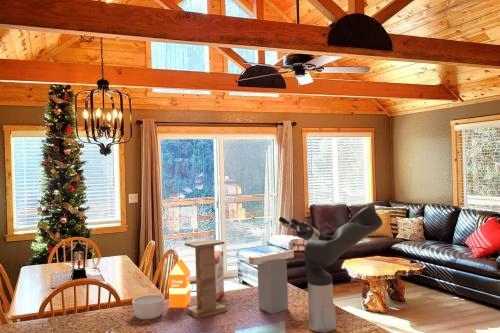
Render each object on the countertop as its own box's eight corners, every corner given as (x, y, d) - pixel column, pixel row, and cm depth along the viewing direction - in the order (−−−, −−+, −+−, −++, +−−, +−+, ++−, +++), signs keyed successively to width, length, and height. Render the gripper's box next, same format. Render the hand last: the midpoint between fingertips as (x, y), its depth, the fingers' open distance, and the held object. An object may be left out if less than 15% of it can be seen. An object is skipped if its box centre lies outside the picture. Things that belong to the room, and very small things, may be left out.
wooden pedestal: (226, 311, 188) (224, 241, 187) (198, 318, 179) (195, 245, 179) (214, 305, 196) (212, 238, 196) (186, 312, 187) (184, 242, 187)
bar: (293, 257, 194) (293, 250, 194) (254, 265, 181) (253, 257, 181) (288, 256, 196) (288, 249, 196) (249, 263, 183) (249, 256, 183)
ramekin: (137, 323, 177) (136, 305, 177) (129, 313, 188) (128, 297, 188) (168, 316, 183) (168, 300, 183) (159, 308, 195) (158, 292, 195)
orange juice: (191, 301, 203) (189, 258, 203) (186, 307, 194) (184, 262, 194) (174, 301, 204) (173, 258, 204) (169, 307, 195) (167, 262, 195)
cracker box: (217, 301, 201) (215, 256, 201) (204, 301, 202) (203, 256, 202) (225, 292, 215) (223, 250, 215) (213, 292, 216) (211, 250, 216)
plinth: (288, 309, 188) (286, 260, 187) (271, 313, 182) (270, 263, 182) (274, 304, 195) (273, 257, 195) (258, 308, 190) (257, 260, 189)
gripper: (316, 242, 204) (292, 228, 196) (295, 238, 215) (273, 225, 207) (321, 227, 206) (298, 213, 198) (300, 224, 218) (278, 210, 209)
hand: (285, 219), depth 203 cm, fingers open, 8 cm apart
